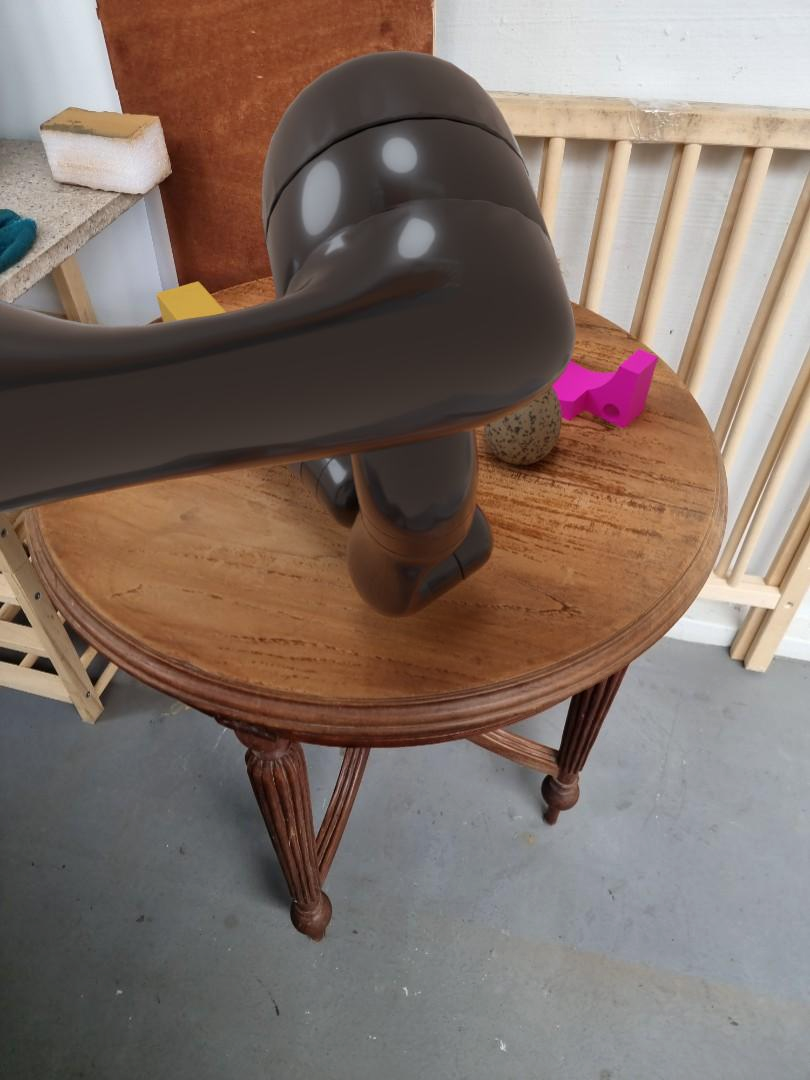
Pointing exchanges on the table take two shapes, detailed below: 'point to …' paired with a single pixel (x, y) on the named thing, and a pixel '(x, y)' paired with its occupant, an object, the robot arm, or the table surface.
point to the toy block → (607, 389)
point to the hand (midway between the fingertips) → (229, 333)
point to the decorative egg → (527, 431)
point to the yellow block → (187, 303)
